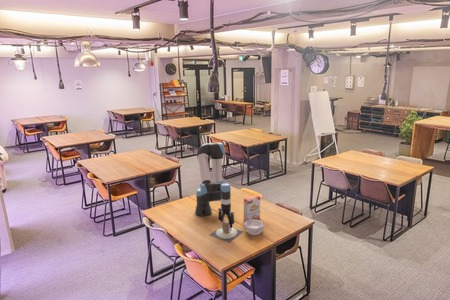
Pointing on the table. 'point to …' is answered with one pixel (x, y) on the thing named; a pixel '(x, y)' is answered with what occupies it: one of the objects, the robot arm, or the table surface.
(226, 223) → the lid
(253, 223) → the paper bowls
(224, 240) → the mat
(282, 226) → the table surface
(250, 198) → the cracker box
